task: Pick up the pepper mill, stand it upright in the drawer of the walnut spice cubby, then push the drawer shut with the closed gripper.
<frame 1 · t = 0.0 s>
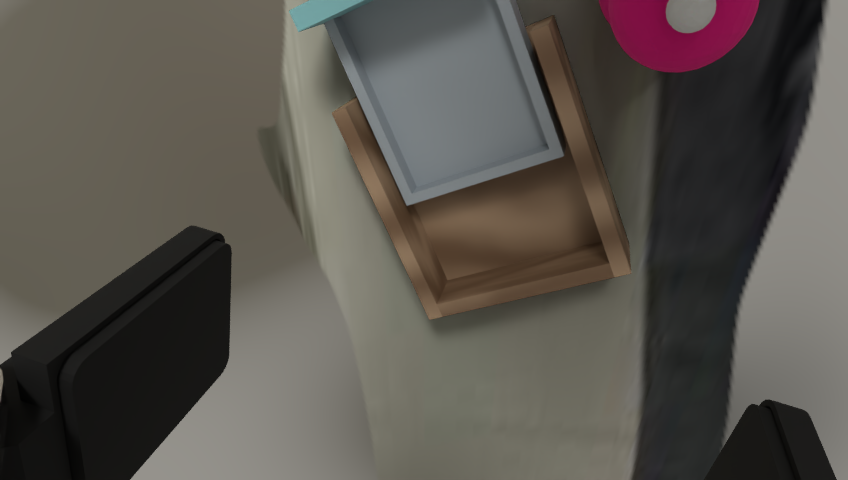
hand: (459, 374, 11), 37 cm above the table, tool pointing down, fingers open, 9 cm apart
cubby: (496, 180, 49), on the table
drawer: (438, 81, 42), point 4 cm above the table, slide at 8.0 cm
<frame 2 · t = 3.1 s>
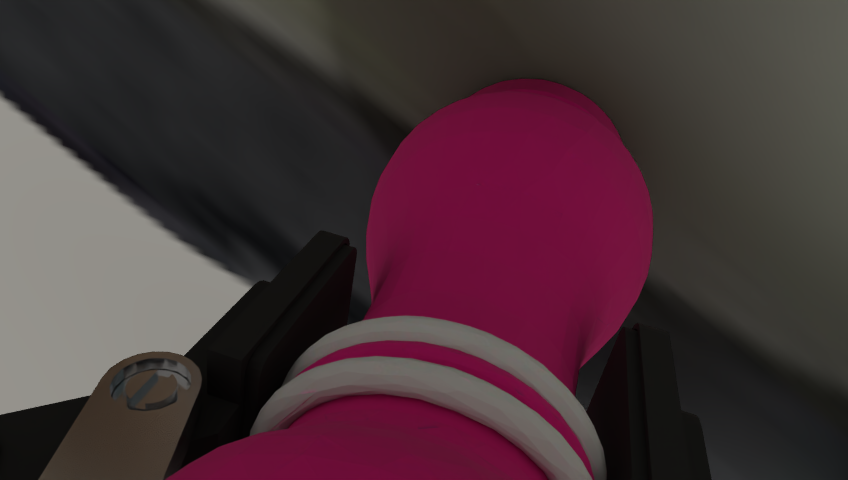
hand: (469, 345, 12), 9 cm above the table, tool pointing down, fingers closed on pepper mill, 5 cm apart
pepper mill: (526, 172, 20), on the table, touching gripper
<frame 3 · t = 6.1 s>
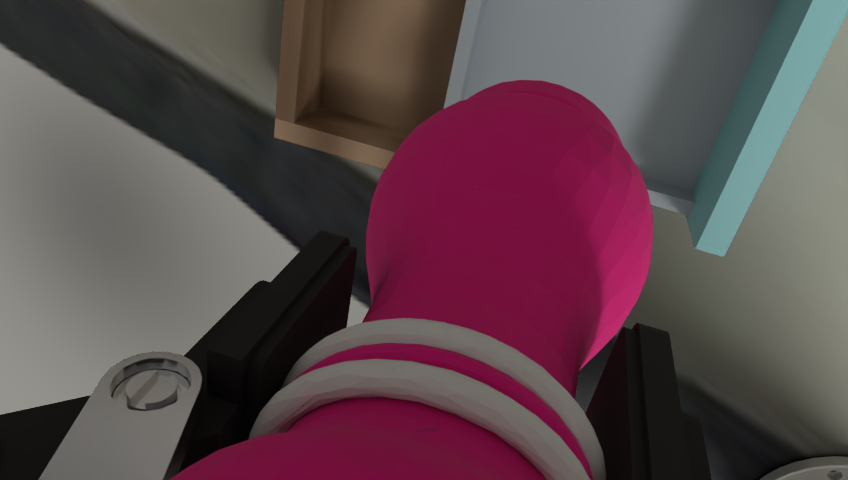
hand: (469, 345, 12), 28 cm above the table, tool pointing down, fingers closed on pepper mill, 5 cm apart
pepper mill: (526, 173, 20), point 18 cm above the table, touching gripper
cubby: (450, 19, 36), on the table
drawer: (608, 73, 31), point 4 cm above the table, slide at 8.0 cm
when the fingers open (13 cm above the table, at t = 9.4 s): pepper mill stays where it is, resting on drawer.
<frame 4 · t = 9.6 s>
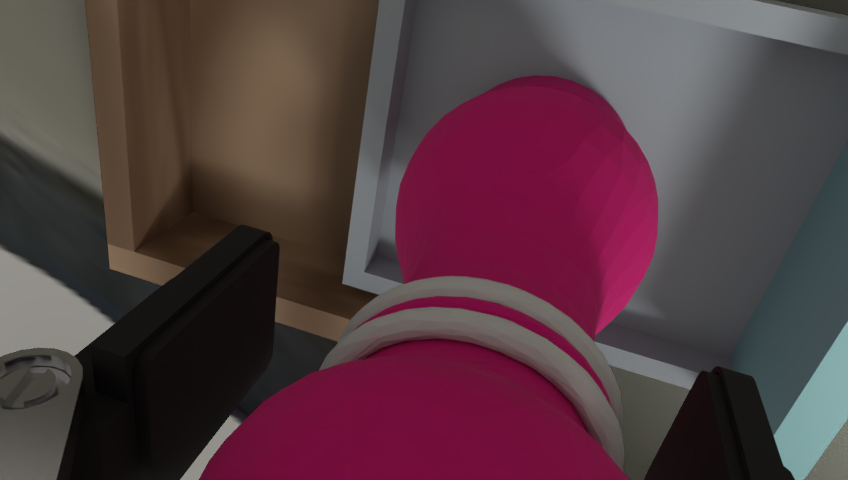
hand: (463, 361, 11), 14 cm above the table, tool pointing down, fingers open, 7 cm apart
pepper mill: (538, 163, 21), point 2 cm above the table, touching drawer
cubby: (363, 93, 24), on the table
drawer: (597, 198, 19), point 4 cm above the table, slide at 8.0 cm, touching pepper mill
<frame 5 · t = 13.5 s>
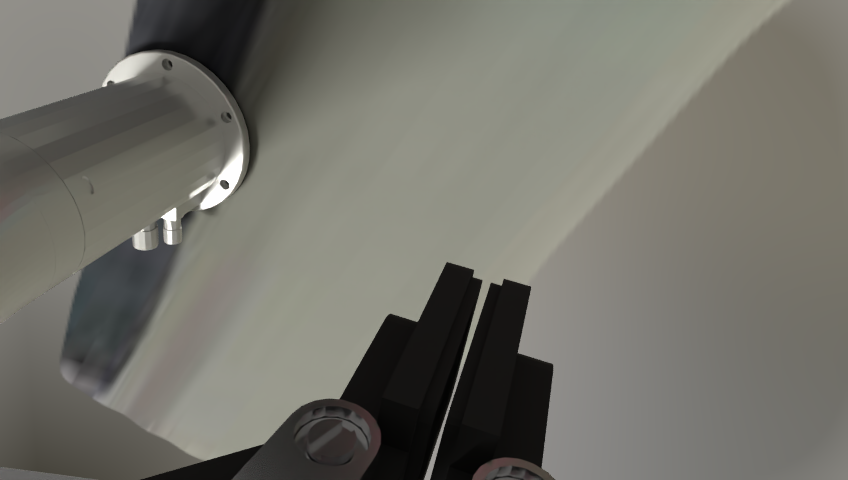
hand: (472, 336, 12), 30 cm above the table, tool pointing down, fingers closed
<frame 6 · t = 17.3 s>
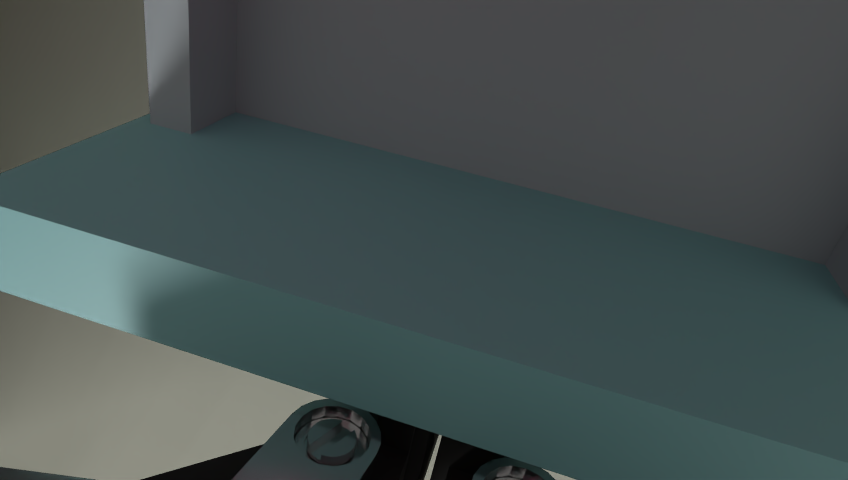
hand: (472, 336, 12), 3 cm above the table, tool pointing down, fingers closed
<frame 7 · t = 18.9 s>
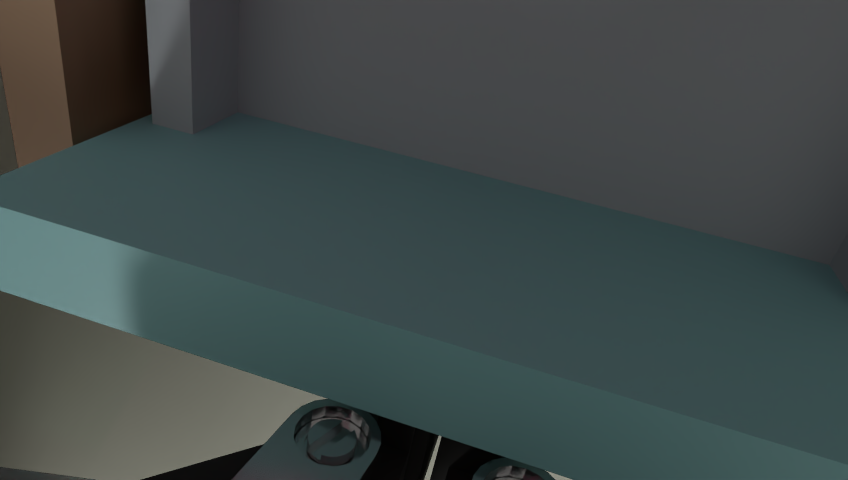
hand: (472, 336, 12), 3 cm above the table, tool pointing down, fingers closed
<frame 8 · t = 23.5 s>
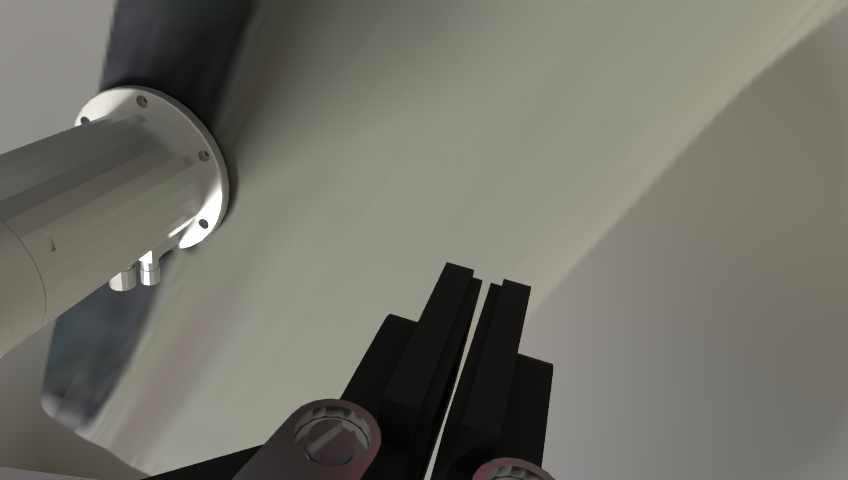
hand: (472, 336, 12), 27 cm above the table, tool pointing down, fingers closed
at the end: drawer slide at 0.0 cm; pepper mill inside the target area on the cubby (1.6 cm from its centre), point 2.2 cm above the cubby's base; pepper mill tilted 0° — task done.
